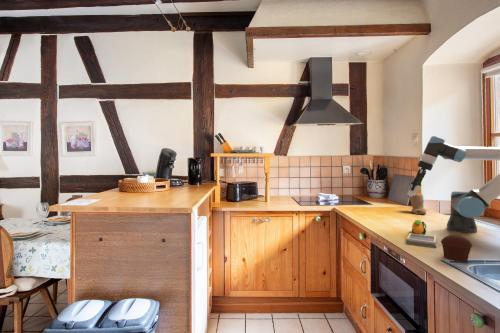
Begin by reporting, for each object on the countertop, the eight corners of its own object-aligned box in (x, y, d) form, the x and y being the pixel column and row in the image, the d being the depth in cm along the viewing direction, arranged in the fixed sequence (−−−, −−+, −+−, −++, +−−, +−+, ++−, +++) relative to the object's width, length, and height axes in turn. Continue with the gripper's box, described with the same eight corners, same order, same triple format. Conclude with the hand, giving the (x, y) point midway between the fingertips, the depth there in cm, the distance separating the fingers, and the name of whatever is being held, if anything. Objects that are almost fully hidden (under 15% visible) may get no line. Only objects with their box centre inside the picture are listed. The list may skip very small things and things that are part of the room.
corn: (425, 218, 182) (426, 225, 165) (426, 231, 182) (427, 239, 165) (411, 217, 186) (410, 224, 168) (412, 230, 186) (411, 238, 168)
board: (436, 240, 164) (436, 236, 163) (435, 247, 151) (435, 243, 151) (409, 236, 171) (409, 232, 170) (406, 243, 158) (406, 239, 158)
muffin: (439, 259, 135) (440, 236, 134) (440, 252, 144) (441, 231, 144) (472, 265, 128) (473, 241, 128) (471, 257, 137) (472, 235, 137)
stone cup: (409, 210, 246) (410, 191, 245) (426, 212, 240) (427, 192, 239) (408, 213, 233) (408, 194, 232) (426, 215, 227) (426, 195, 226)
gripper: (422, 161, 192) (407, 191, 196) (417, 158, 172) (401, 193, 176) (435, 165, 188) (419, 197, 192) (432, 163, 168) (415, 199, 172)
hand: (411, 195), depth 184 cm, fingers open, 13 cm apart
